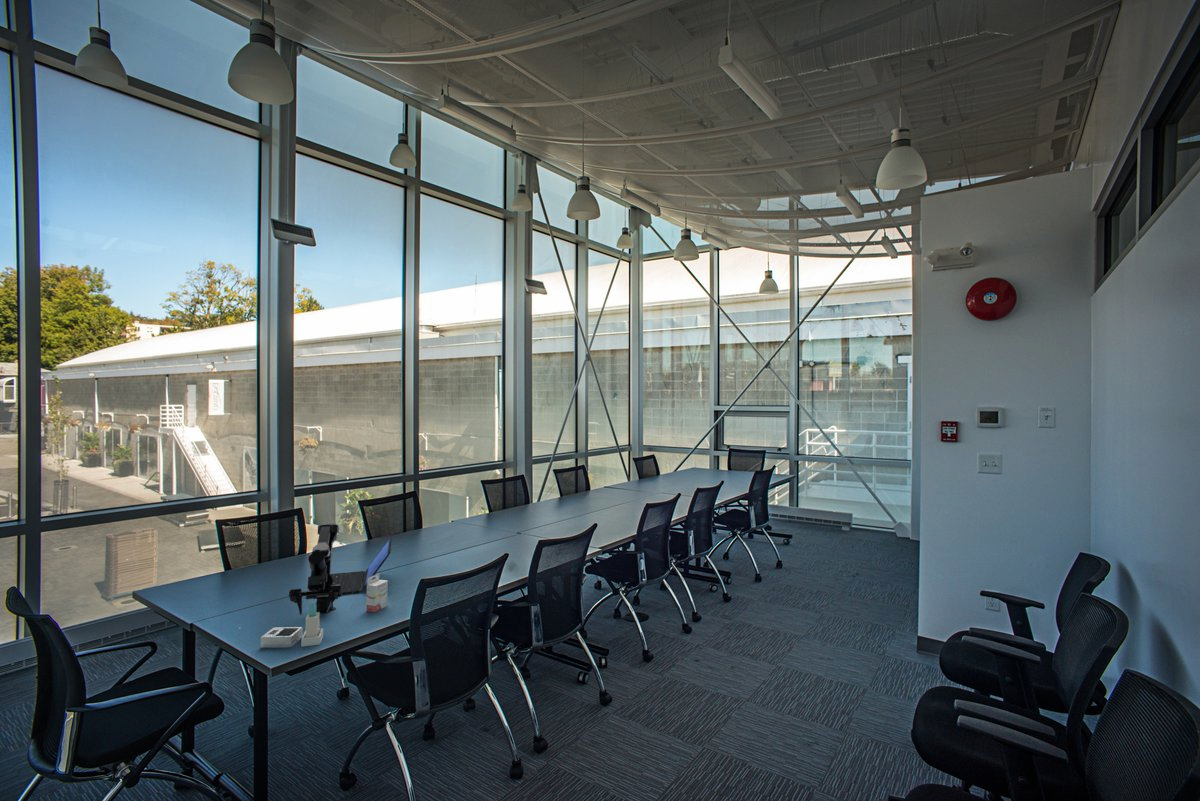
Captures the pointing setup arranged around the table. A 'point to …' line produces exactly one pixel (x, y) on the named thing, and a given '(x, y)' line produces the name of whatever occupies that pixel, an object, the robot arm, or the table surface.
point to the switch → (281, 637)
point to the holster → (312, 639)
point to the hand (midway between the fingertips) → (313, 613)
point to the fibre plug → (312, 622)
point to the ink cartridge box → (376, 593)
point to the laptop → (360, 573)
